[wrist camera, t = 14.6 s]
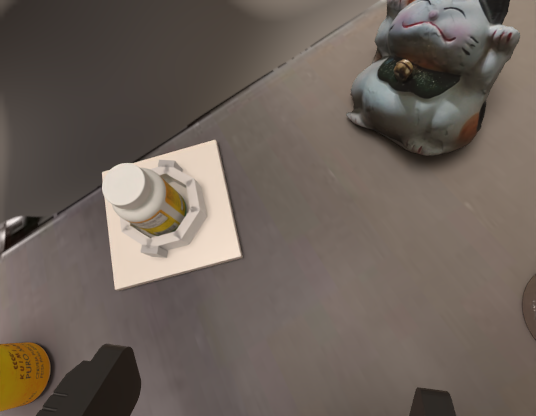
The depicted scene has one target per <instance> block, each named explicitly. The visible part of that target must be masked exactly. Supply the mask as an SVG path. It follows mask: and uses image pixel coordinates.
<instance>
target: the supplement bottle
mask: <svg viewBox="0 0 536 416" xmlns="http://www.w3.org/2000/svg"><path fill="white" fill-rule="evenodd" d="M102 191H103V195H104V197H105V198H106V200H107V201H108V202H110V203H111V204H112V207H113V209H114V211H115V212H116V213H117V215H118V216H120V217H121V218H122V219H124V220H126V221H128V222H130V223H131V224H133V225H135V226H137V227H139V228H141V229H143V230H145V231H146V232H148V233H150V234H152V235H155V236H160V235H164V234H168V233H171V232H175V231H176V230H177V228H178V227H179V225H180V224H181V222H182V221H183V219H184V218H185V216H186V215H187V213H188V211H187V204H186V202H185V200H184V198H183V197H182V196H181V195H180V194H179V193H178V192H177V191H176V190H175V189H174V188H173V187H171V186H170V185H169V184H168V183H167V182H166V181H165V180H164V179H163V178H162V177H161V176H160V175H158V174H157V173H156V172H154V171H153V170H150V169H147V168H140V167H138V166H137V165H134V164H131V163H123V164H119V165H117V166H115V167H113V168H112V169H111V170H110V171H109V172H108V173H107V174H106V176H105V178H104V180H103V184H102Z"/></svg>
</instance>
